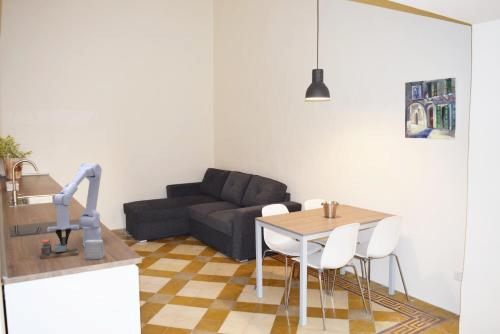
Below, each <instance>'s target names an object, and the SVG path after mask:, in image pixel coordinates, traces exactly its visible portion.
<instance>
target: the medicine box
mask: <svg viewBox="0 0 500 334" xmlns="http://www.w3.org/2000/svg"><path fill="white" fill-rule="evenodd" d="M83 247H84V248H83V249H84V250H83V251H84V260H102V259H103V258H104V256H105V255H104V250H105V249H104V240H103V239H102V240H87V241H85V242H84V246H83Z"/></svg>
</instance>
